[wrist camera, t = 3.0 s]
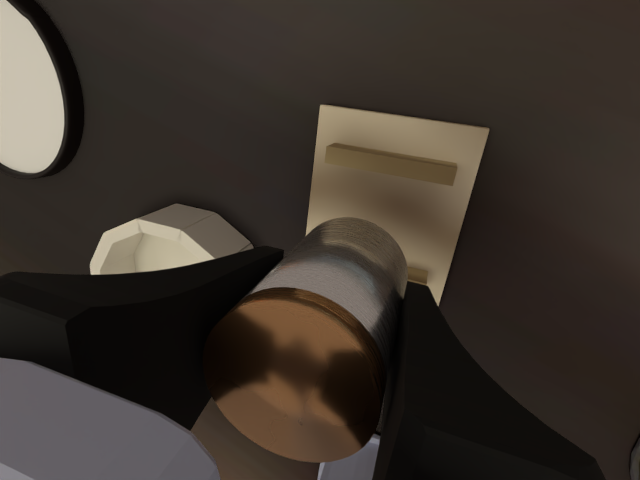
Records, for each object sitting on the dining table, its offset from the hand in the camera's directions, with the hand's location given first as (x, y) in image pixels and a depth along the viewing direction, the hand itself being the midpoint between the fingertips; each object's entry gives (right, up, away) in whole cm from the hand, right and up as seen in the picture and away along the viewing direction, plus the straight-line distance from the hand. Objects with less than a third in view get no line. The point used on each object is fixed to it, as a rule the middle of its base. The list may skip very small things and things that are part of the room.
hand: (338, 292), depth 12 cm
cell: (+1, +1, +1) cm, 2 cm away
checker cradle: (+3, +3, +8) cm, 10 cm away
